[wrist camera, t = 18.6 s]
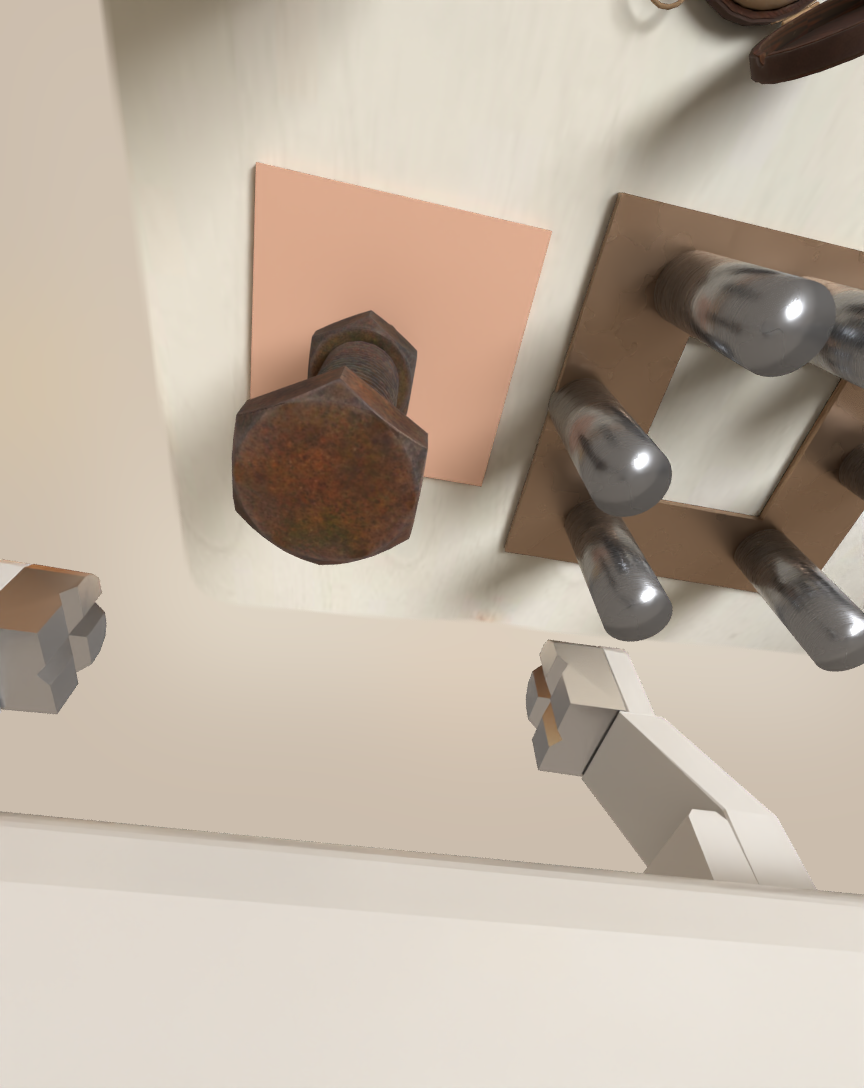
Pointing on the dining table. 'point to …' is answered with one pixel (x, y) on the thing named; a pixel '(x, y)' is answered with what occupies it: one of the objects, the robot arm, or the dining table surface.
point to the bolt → (335, 448)
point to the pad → (396, 298)
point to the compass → (796, 34)
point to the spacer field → (635, 395)
